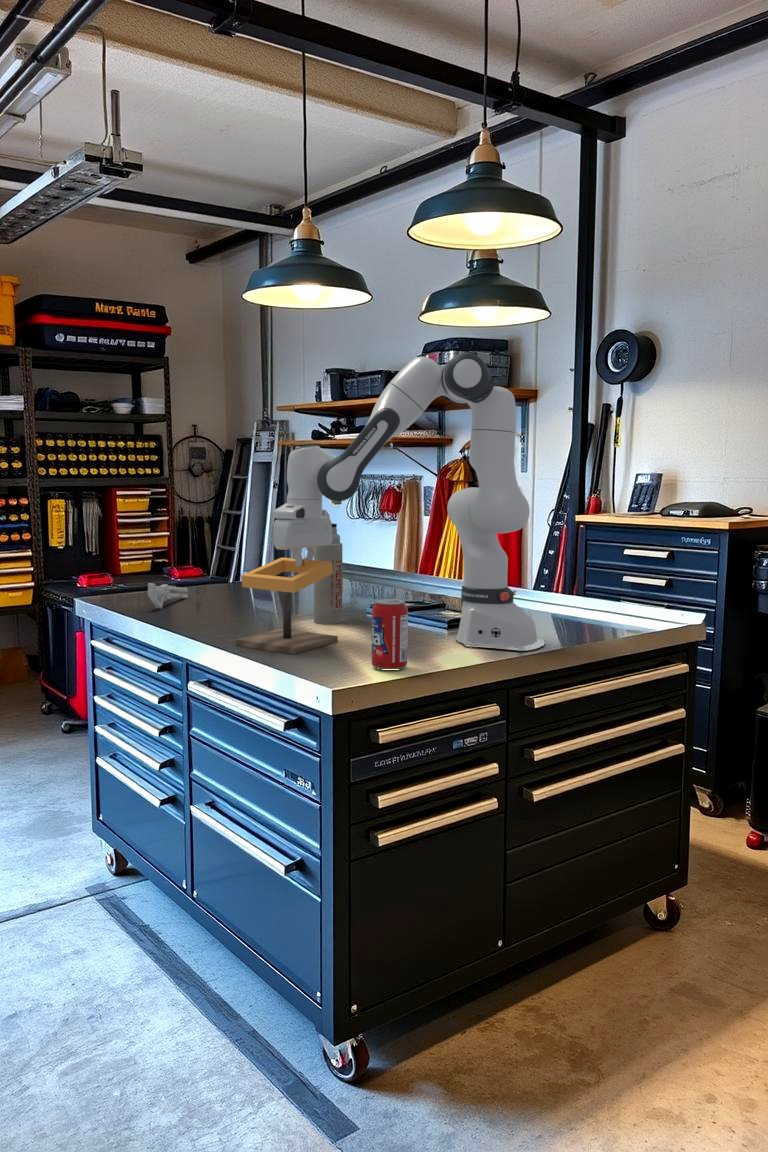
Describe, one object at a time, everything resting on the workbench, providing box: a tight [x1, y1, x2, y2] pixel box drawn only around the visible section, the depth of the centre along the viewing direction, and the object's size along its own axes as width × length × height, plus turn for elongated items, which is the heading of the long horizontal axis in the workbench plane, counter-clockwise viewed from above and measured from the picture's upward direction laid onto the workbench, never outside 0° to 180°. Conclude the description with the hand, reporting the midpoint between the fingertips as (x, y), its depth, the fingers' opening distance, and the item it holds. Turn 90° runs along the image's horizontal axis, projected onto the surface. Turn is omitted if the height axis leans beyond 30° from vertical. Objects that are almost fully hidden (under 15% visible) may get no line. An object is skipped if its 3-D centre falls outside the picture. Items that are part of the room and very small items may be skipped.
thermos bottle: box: [313, 522, 343, 625], centre depth 250 cm, size 8×8×28 cm
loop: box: [240, 557, 333, 594], centre depth 219 cm, size 16×16×3 cm
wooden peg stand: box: [235, 592, 339, 655], centre depth 220 cm, size 18×18×16 cm
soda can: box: [371, 598, 409, 670], centre depth 194 cm, size 8×8×15 cm
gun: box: [147, 582, 189, 610], centre depth 279 cm, size 2×30×8 cm, turn 172°
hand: (304, 565), depth 224 cm, fingers closed on loop, 2 cm apart
